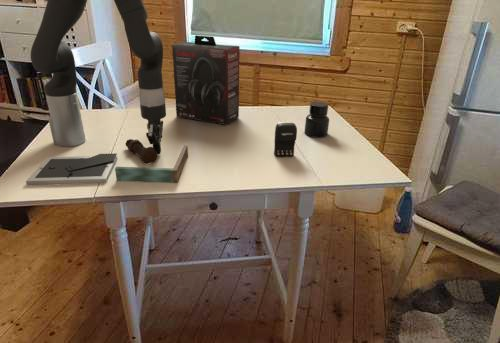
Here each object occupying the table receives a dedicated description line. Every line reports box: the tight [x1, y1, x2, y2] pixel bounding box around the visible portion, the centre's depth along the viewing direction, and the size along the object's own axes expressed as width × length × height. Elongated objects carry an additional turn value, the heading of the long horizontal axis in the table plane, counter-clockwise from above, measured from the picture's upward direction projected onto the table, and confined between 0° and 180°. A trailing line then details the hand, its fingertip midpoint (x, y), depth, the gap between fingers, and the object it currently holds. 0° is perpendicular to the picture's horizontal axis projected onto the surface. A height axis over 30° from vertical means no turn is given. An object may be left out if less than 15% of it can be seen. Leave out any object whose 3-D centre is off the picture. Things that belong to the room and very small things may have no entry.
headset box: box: [171, 34, 241, 126], centre depth 148 cm, size 24×13×33 cm, turn 67°
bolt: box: [125, 138, 159, 165], centre depth 118 cm, size 6×5×15 cm
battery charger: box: [273, 121, 298, 158], centre depth 119 cm, size 7×4×11 cm, turn 95°
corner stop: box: [114, 144, 189, 184], centre depth 110 cm, size 17×18×4 cm
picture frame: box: [25, 152, 118, 186], centre depth 107 cm, size 16×3×21 cm
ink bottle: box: [304, 101, 330, 138], centre depth 139 cm, size 10×9×12 cm
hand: (157, 153), depth 118 cm, fingers closed
